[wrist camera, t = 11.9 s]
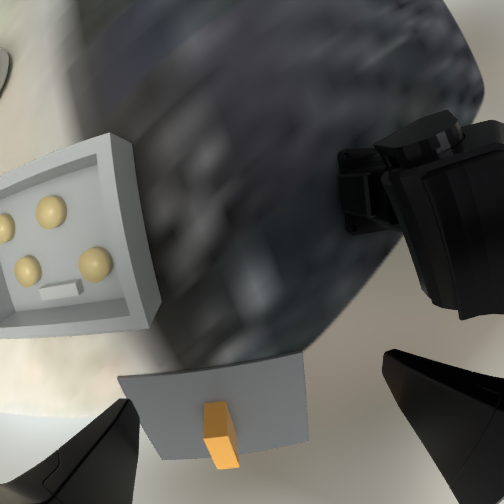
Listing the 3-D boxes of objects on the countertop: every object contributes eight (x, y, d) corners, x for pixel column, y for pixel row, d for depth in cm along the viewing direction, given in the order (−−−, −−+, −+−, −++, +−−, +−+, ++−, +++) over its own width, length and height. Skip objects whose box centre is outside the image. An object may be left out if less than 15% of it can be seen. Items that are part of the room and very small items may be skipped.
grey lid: (299, 346, 24) (318, 383, 19) (306, 434, 27) (319, 470, 21) (120, 372, 23) (102, 410, 17) (163, 453, 26) (158, 489, 20)
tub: (131, 143, 18) (109, 132, 14) (161, 301, 21) (149, 328, 17) (-13, 196, 17) (-44, 200, 13) (17, 318, 20) (-8, 338, 15)
